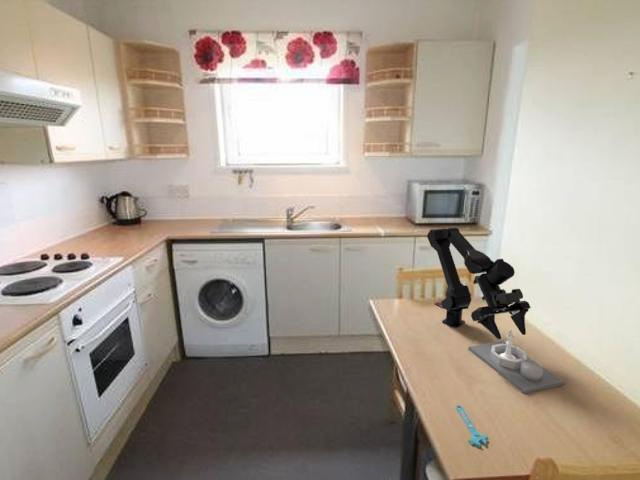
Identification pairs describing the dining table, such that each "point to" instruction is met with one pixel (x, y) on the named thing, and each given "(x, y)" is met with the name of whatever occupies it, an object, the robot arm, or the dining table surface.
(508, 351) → the chess piece
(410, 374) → the dining table surface
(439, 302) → the snack package
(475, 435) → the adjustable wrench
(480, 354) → the carrier plate
